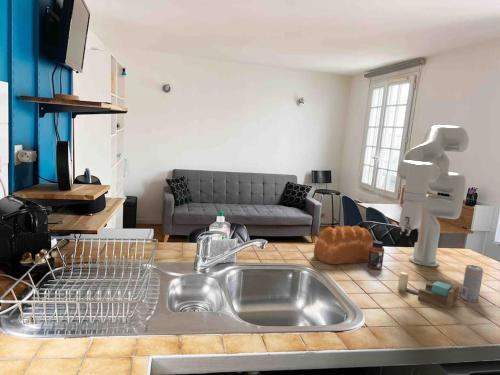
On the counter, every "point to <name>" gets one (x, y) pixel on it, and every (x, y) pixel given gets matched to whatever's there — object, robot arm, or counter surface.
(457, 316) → the counter surface
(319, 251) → the bread
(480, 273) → the energy drink
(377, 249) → the supplement bottle
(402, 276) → the teal block with rod
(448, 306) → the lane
